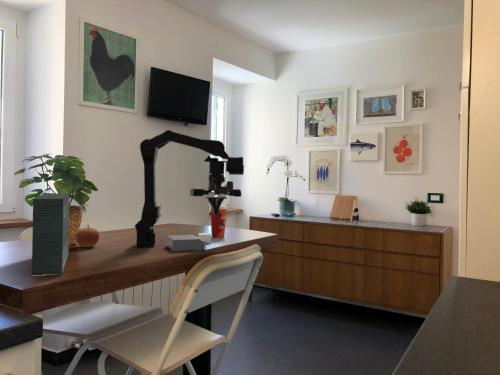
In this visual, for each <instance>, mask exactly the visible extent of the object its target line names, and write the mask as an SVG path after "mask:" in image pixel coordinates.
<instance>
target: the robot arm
mask: <svg viewBox="0 0 500 375" xmlns="http://www.w3.org/2000/svg"><path fill="white" fill-rule="evenodd" d="M140 142H141V143H140V144H139V149H140V155H141V159H142V162H143V172H144V173H143V177H144V178H143V179H144V180H143V181H144V182H143V183H144V186H143V188H144V202H143V206H142V210H141V218H140V220H139V221H138V222H137V223H135V225H134V227H135V243H134V246H135V247H136V248H145V247H146V248H147V247H151V248H152V247H155V244H156V233H155V229H154V226H155V225H156V224H157V223H158V222H159V221H160V218H161V217H162V213H161V209H162V205H158V204H157V199H156V198H157V197H156V196H157V195H156V191H157V189H156V163H157V158H158V154H159V150H160V149H161V148H163V147H165V146H166V145H167V144H169V143H175V144H179V145H182V146H186V147H190V148H192V149H193V148H194V149H198V150H200V151H203V152H205V153H207V154H208V155H207V157H206V158H205V159H204V160H203V161H204V162H205V163H208V177H207V180H208V187H207V190H206V189H204V188H201V187H200V188H197V187H196V188H193V187H192V188H191V189H190V191H189V193H190V194H189V195H190V196H191V197H203V196H204V198H205V199H207V201H208V202H209V205H210V208H212V211H213V213H214V215H217V214H218V211H219V208H220V206H221V205H222V203H223V202H224V200H226V199H227V200H228V197H237V198H238V197H240V198H241V197H242V190H241V189H240V188H234V182H233V181H227V182H226V178H225V172H226V173H228V175H230V176H231V175H232V176H233V175H234V176H238V175H239V176H244V169H245V164H244V157H243V156H239V157H238V156H237V157H235V156H234V157H231V156H229V154H228V153H227V152H226V150H225V144H224V143H223V142H222V141H220V140H216V139H203V138H197V137H194V136H190V135H186V134H183V133H178V132H175V131H172V130H169V129H166V130H165V131H164V132H162V133H160V134H158V135H156V136H153V137H151V138H150V139H149V138H145V139H143V140H142V141H140ZM210 155H211V156H214V157H211V156H210ZM219 158H221V159H222V160H219ZM227 196H228V197H227Z"/></svg>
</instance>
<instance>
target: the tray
mask: <svg viewBox="0 0 500 375" xmlns="http://www.w3.org/2000/svg"><path fill="white" fill-rule="evenodd" d="M197 237H198V238H199V236H197ZM200 239H201V238H200ZM201 240H202V250H206V248H207V246H206V244H207V243H206V241H205V240H203V239H201Z"/></svg>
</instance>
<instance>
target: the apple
mask: <svg viewBox="0 0 500 375" xmlns="http://www.w3.org/2000/svg"><path fill="white" fill-rule="evenodd" d="M99 233H100V232H98V230H97V229H96V228H93V227H90V225H89V224H87V227H80V228H79V229H78V230H77V231H76V233H75V236H74V238H75V241H76V243H77V245H78V246H80V247H81V248H82V247H83V248H91V247H94V246H96V245H97V243H98V242H99V240H100V234H99Z"/></svg>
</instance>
